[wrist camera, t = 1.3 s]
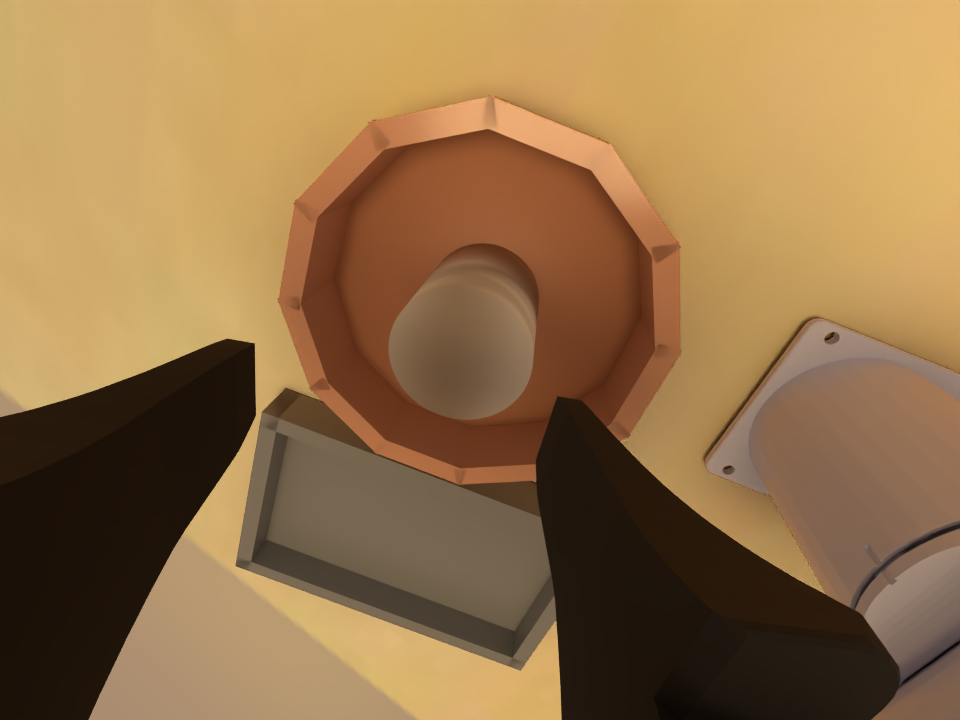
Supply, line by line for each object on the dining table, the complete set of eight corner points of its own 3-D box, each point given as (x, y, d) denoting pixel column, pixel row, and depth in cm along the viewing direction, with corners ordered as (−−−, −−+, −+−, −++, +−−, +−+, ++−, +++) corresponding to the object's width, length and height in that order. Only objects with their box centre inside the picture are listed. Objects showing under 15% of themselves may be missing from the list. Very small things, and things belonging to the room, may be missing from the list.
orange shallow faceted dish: (729, 190, 18) (772, 209, 14) (569, 467, 24) (572, 527, 20) (371, 45, 17) (323, 26, 14) (304, 365, 23) (259, 409, 20)
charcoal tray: (604, 509, 25) (609, 543, 23) (522, 634, 30) (520, 670, 28) (285, 388, 24) (261, 411, 22) (256, 536, 29) (235, 566, 27)
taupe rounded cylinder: (556, 268, 19) (557, 321, 14) (514, 363, 21) (501, 438, 16) (449, 225, 19) (410, 263, 14) (416, 325, 21) (373, 389, 16)
